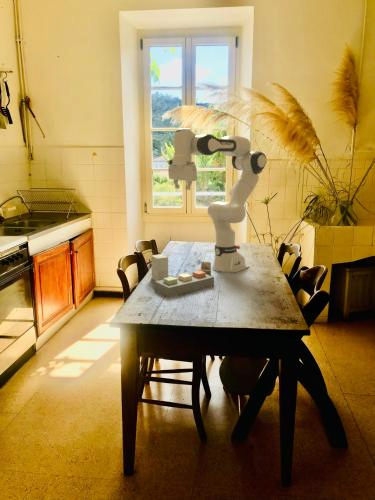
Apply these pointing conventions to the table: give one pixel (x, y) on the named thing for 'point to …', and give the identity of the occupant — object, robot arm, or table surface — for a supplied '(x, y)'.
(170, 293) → the console
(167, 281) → the sage button
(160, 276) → the small box
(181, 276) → the cream button
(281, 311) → the table surface
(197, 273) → the rust button
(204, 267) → the architectural model
